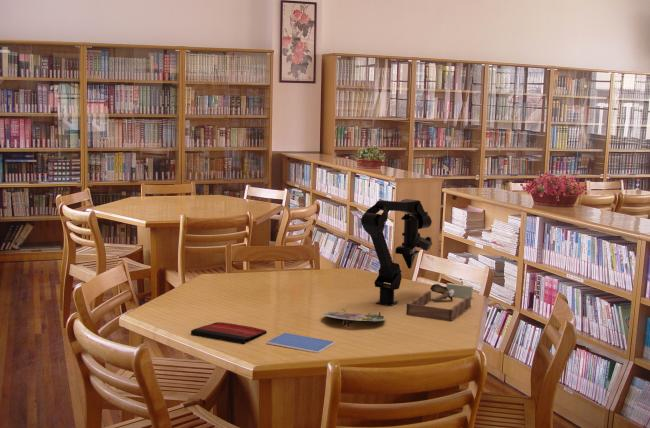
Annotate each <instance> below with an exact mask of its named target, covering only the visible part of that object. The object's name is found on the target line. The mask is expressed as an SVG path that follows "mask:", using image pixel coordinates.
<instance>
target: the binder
mask: <svg viewBox="0 0 650 428" xmlns="http://www.w3.org/2000/svg"><path fill="white" fill-rule="evenodd" d="M267 333H268V331H267V330H266V329H262V328H257V327H254V326H253V327H252V326H247V325H242V324H236V323H230V322H213V323H210V324H206V325H203V326H200V327H197V328H194V329H193V328H192V330H190V335H191V336H195V337H200V338H201V337H202V338H207V339H212V340H213V339H214V340H219V341H224V342H229V343H235V344H241V345H245V344H246V343H245V342H247V341H249V340H250V342H251V341H254V340H256V339H258V338H260V337H263V336H264V335H266V334H267Z"/></svg>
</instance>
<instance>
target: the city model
mask: <svg viewBox="0 0 650 428" xmlns="http://www.w3.org/2000/svg"><path fill="white" fill-rule="evenodd" d="M341 311H342V312H339V311H331V312H330V311H328V312H323V316H326V317H329V318H334V319H340V320H342V324H343V326H346V327H347V328H348V327H349V326H351V323H352V321H363V322H364V321H365V322H382V321H383V322H384V321H386V318H385V316H387V315H385V316H383V315H381V312H380V311H379V312H378V314H377V313H376V314H375V313H367V314H362V313H355V312H354V313H353V312H347V310H346V308H345V309H344V308H343V309H341Z"/></svg>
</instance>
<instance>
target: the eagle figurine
mask: <svg viewBox="0 0 650 428" xmlns="http://www.w3.org/2000/svg"><path fill="white" fill-rule="evenodd" d="M429 289H430V291H431V292H433V293H436V294H440V295H437V296H435V297H434V298H432V299H431V301H430V302H435V303H436V302H439V301H441V300H445V299H446V300H447V299H449V300H450V301H453V298H454V297H453V296H454V290H453V289H452V288H451V290H450V291H448V289H447V288H446V286H443V285H441V284H439V283H434V284H432V285H431V286H430V287H429Z"/></svg>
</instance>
